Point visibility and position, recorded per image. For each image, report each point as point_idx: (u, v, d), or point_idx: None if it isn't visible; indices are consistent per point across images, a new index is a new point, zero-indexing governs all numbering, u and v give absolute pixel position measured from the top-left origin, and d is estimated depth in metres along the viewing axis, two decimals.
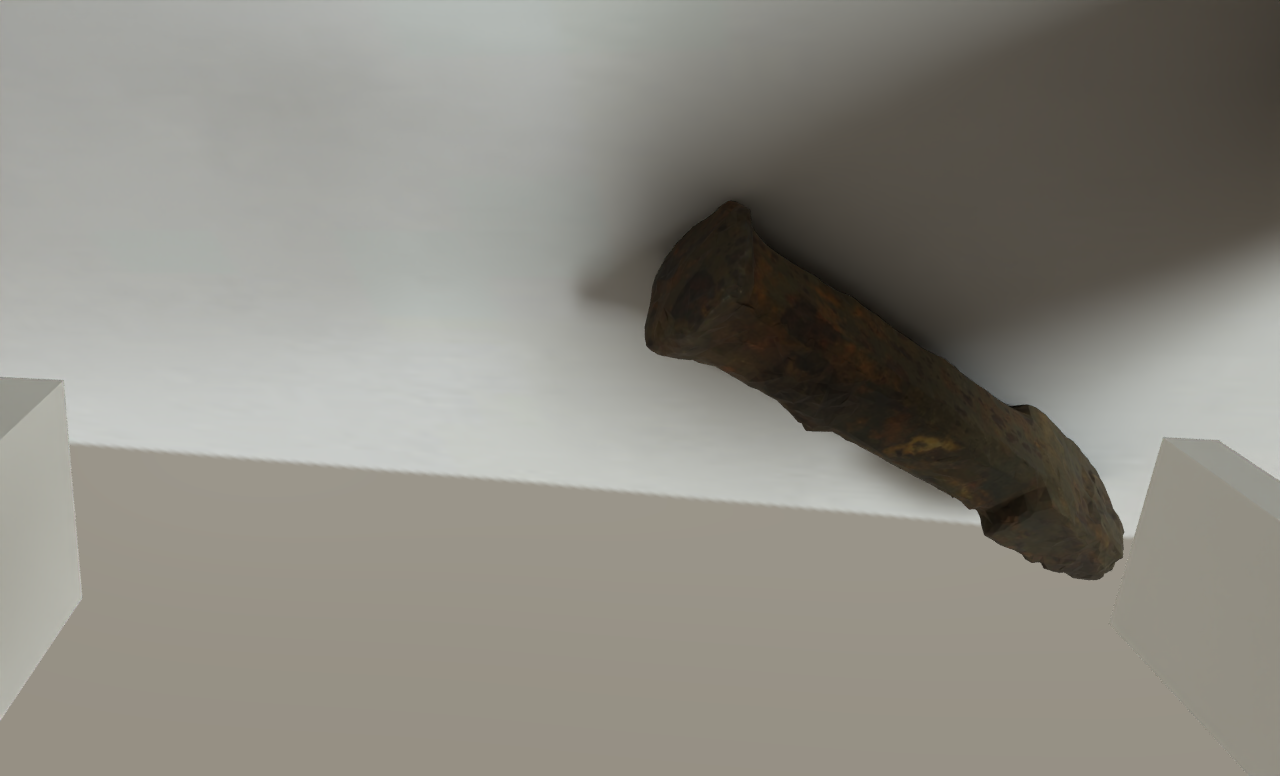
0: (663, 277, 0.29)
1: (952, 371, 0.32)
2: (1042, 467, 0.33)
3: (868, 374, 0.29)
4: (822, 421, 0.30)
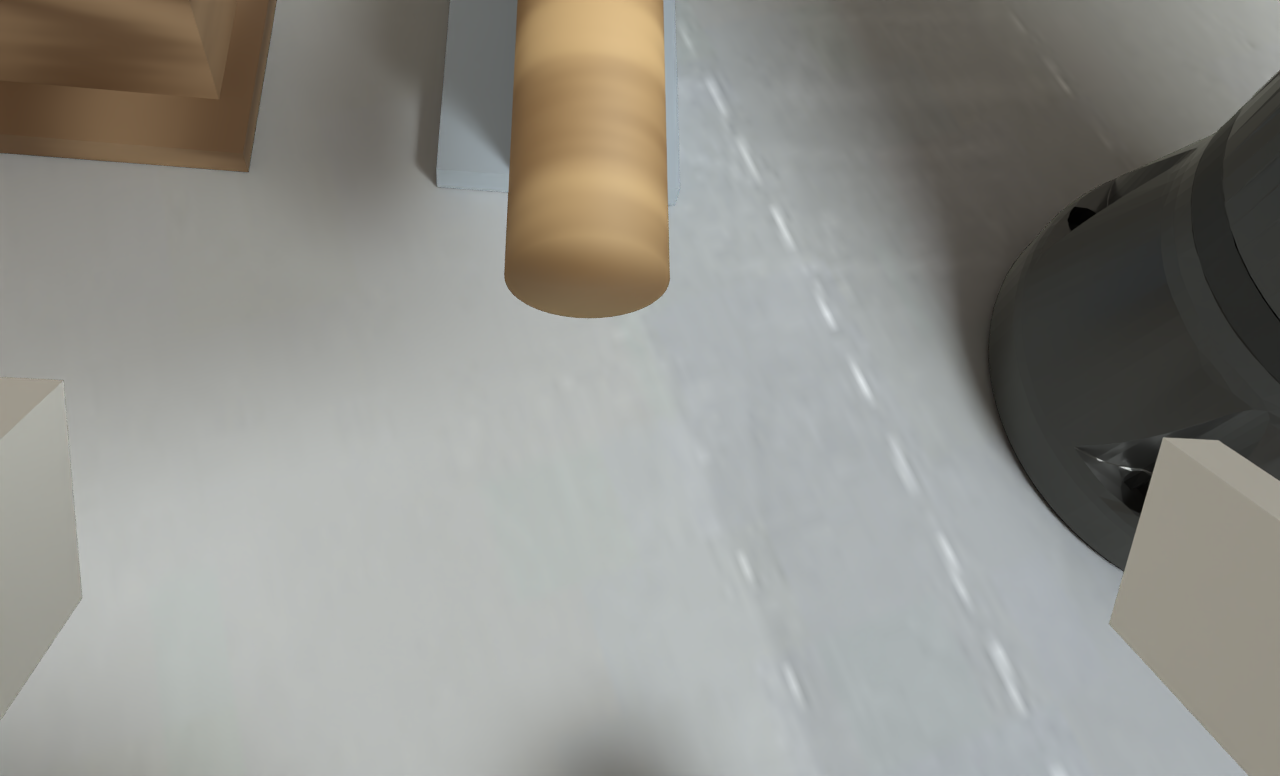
0: None
1: None
2: None
3: None
4: None
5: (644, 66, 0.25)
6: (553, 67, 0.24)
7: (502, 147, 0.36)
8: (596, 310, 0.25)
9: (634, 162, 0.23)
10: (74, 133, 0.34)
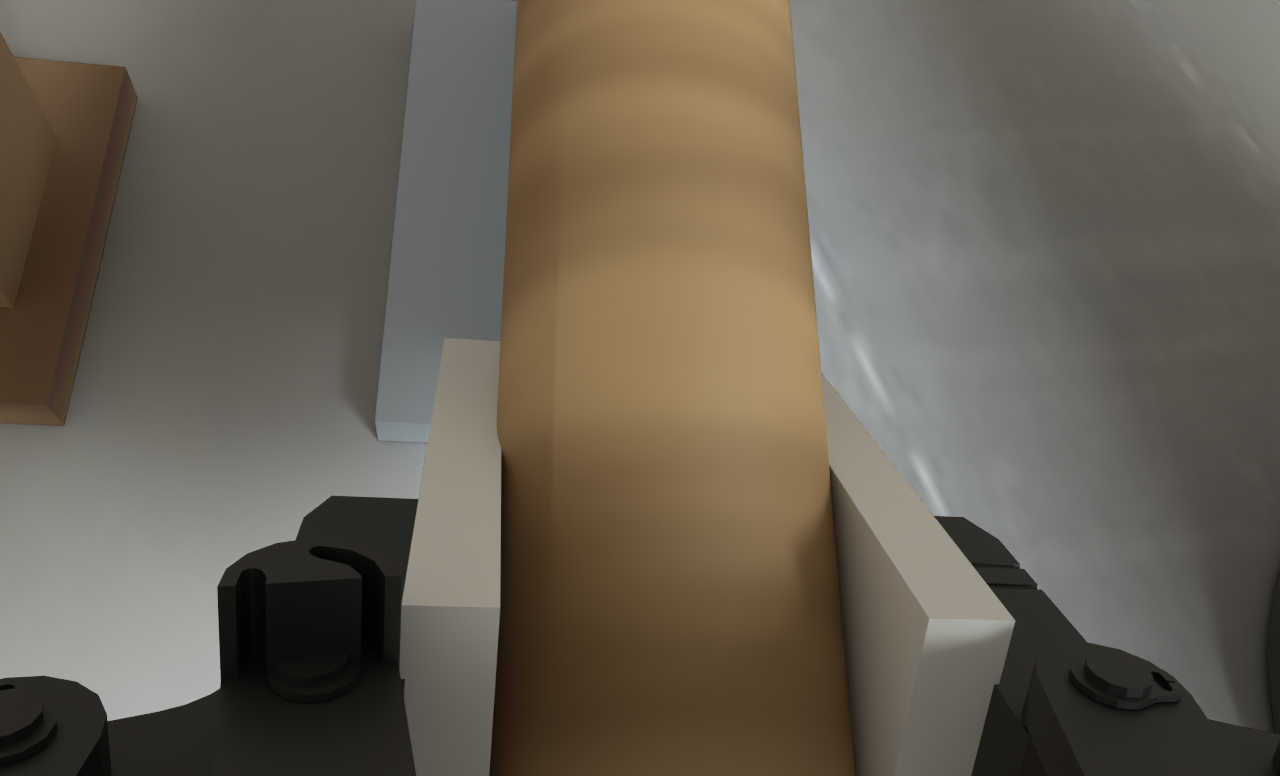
0: None
1: None
2: None
3: None
4: None
5: (795, 429, 0.11)
6: (587, 451, 0.10)
7: None
8: None
9: (793, 719, 0.09)
10: None
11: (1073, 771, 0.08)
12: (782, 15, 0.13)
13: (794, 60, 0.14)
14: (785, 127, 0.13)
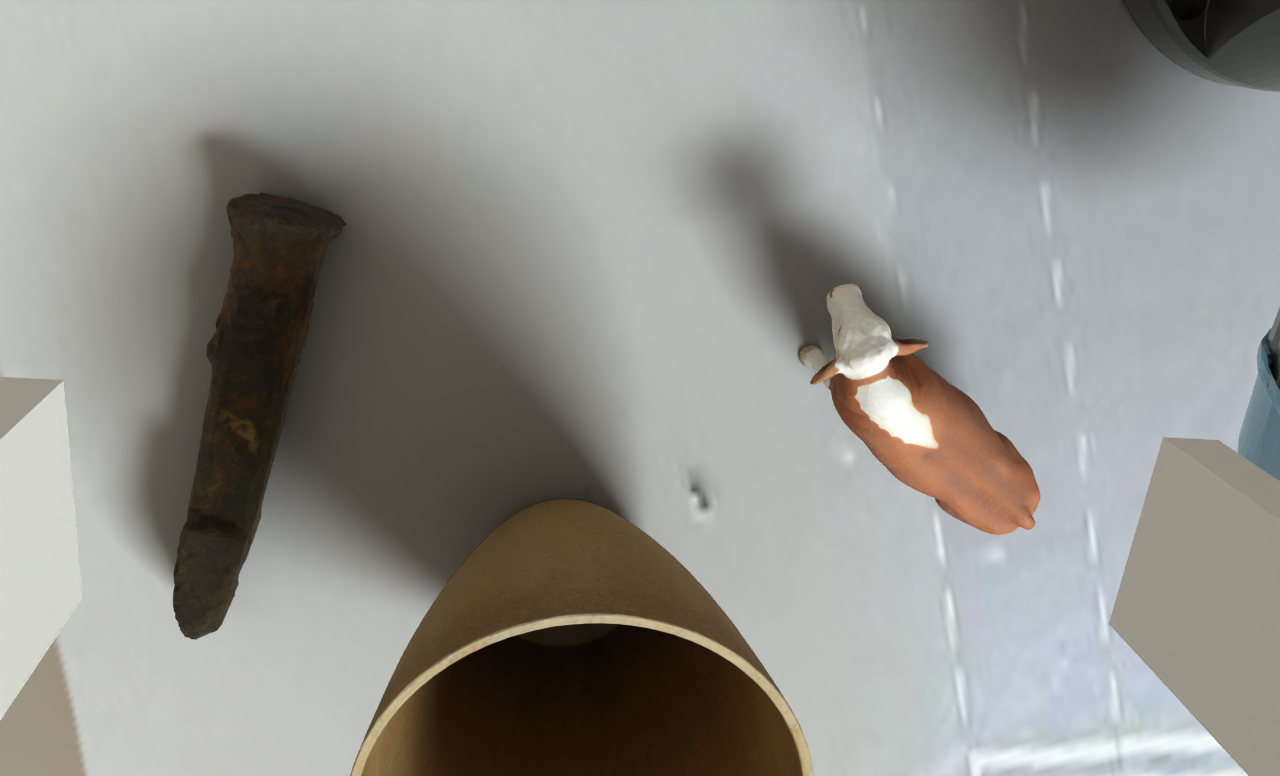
0: (268, 195, 0.41)
1: (282, 424, 0.45)
2: (253, 525, 0.44)
3: (287, 356, 0.42)
4: (232, 352, 0.41)
5: None
6: None
7: None
8: None
9: None
10: None
11: None
12: None
13: None
14: None
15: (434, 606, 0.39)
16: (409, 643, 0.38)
